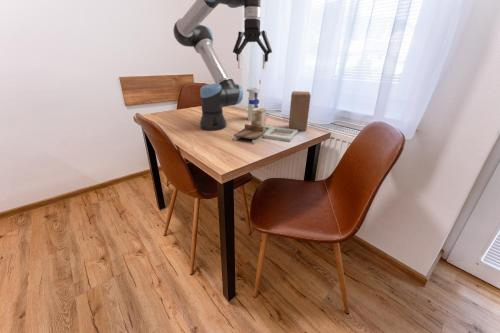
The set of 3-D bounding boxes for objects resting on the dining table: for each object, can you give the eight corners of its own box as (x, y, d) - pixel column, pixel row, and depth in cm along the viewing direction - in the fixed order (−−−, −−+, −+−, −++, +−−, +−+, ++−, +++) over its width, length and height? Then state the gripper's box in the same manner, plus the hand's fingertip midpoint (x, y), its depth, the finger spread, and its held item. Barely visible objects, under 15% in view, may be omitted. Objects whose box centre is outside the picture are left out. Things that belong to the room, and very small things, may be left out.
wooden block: (306, 131, 122) (311, 94, 113) (288, 130, 124) (291, 93, 115) (305, 126, 131) (310, 91, 122) (289, 125, 132) (292, 90, 124)
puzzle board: (231, 140, 109) (231, 137, 108) (252, 126, 130) (252, 124, 129) (284, 148, 99) (284, 145, 98) (297, 132, 120) (297, 129, 119)
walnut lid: (234, 136, 108) (233, 130, 107) (244, 129, 118) (244, 124, 117) (256, 139, 104) (256, 133, 103) (265, 132, 114) (265, 126, 112)
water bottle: (254, 116, 151) (255, 78, 140) (261, 119, 145) (263, 79, 134) (244, 118, 148) (244, 78, 136) (251, 121, 141) (251, 79, 130)
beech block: (251, 132, 120) (251, 110, 114) (255, 129, 125) (255, 107, 119) (261, 133, 118) (261, 111, 112) (265, 130, 123) (266, 108, 117)
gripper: (225, 19, 104) (227, 68, 113) (275, 16, 95) (272, 69, 104) (232, 21, 110) (233, 67, 120) (280, 18, 101) (277, 68, 110)
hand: (251, 68), depth 112 cm, fingers open, 13 cm apart
